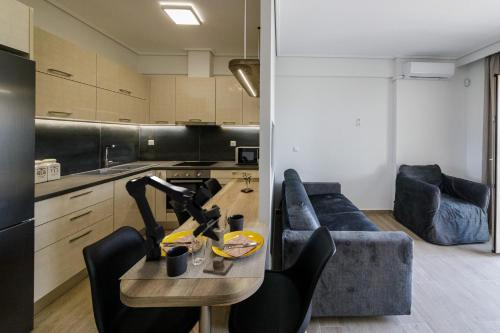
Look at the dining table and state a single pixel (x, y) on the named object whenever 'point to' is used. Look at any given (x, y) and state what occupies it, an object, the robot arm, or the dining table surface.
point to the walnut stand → (218, 266)
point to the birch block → (220, 235)
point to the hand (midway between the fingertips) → (220, 238)
